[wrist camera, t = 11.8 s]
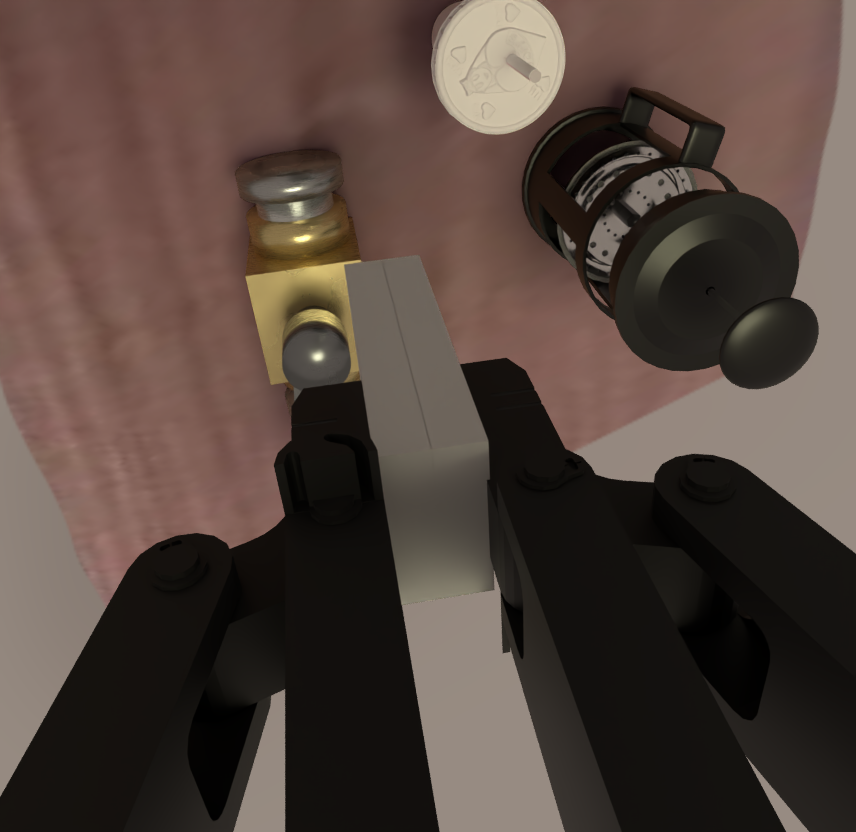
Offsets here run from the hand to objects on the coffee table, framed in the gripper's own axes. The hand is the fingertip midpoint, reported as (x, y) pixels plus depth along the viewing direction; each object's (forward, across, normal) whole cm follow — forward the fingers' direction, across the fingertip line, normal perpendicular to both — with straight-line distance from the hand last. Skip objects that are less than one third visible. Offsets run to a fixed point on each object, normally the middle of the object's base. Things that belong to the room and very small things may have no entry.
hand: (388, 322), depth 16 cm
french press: (+35, +16, -9) cm, 39 cm away
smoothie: (+35, +8, 0) cm, 36 cm away
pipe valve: (+34, -3, -13) cm, 37 cm away
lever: (+26, -3, -18) cm, 31 cm away
